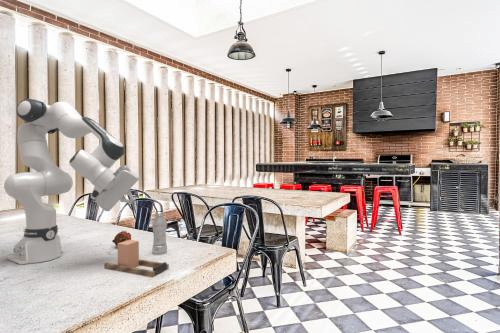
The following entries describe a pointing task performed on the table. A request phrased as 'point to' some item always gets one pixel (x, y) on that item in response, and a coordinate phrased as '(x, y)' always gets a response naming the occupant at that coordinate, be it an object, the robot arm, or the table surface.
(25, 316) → the table surface
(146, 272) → the chute
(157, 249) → the plastic bottle
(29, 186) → the robot arm
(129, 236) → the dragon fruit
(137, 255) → the block
